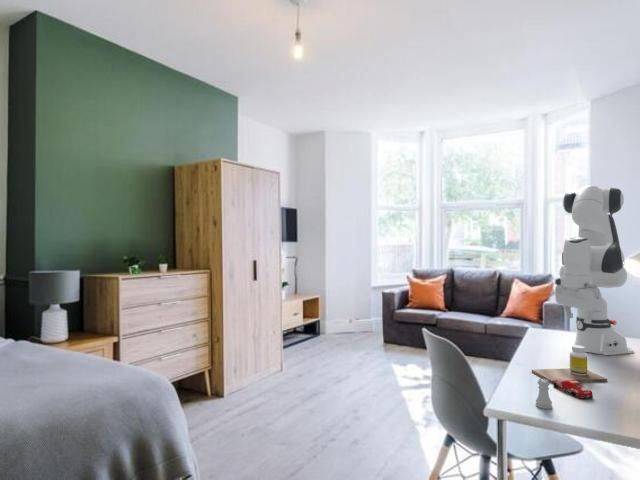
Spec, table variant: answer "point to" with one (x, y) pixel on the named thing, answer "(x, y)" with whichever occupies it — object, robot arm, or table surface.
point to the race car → (573, 388)
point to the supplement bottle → (578, 361)
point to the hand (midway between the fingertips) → (578, 320)
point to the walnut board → (567, 375)
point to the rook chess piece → (543, 395)
